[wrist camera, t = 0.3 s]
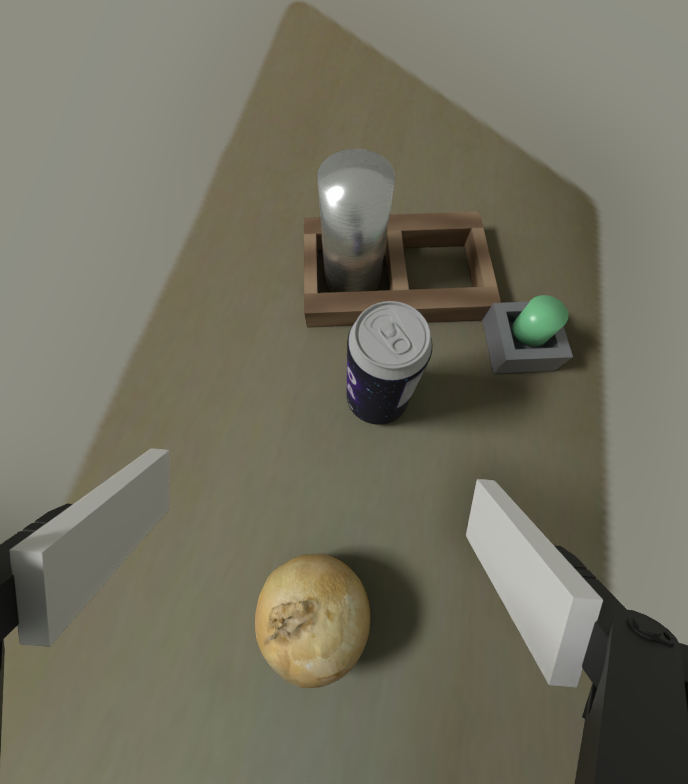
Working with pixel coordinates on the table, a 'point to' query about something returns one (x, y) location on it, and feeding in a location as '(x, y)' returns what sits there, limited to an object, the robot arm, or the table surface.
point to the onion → (312, 620)
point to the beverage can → (386, 360)
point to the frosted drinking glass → (354, 218)
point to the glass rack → (426, 301)
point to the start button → (540, 320)
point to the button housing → (513, 353)
